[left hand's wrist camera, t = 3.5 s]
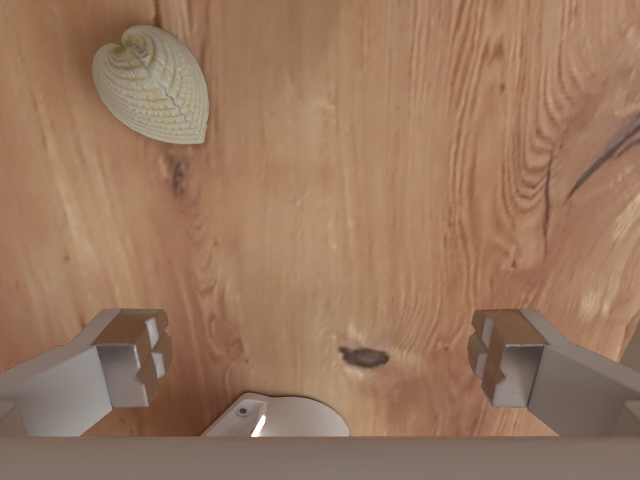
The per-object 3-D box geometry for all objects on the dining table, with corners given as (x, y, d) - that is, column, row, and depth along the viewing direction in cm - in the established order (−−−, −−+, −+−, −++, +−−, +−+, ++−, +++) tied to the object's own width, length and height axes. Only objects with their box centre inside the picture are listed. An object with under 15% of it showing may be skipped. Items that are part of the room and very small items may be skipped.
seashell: (146, -18, 29) (209, 48, 27) (187, 64, 37) (238, 120, 35) (50, 42, 27) (109, 116, 25) (115, 114, 35) (163, 174, 33)
